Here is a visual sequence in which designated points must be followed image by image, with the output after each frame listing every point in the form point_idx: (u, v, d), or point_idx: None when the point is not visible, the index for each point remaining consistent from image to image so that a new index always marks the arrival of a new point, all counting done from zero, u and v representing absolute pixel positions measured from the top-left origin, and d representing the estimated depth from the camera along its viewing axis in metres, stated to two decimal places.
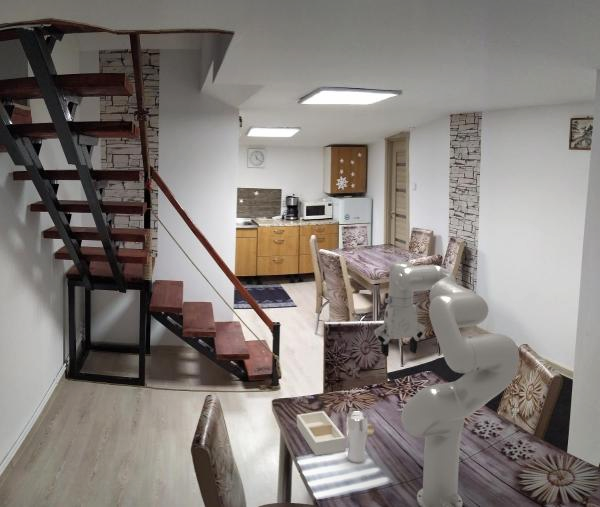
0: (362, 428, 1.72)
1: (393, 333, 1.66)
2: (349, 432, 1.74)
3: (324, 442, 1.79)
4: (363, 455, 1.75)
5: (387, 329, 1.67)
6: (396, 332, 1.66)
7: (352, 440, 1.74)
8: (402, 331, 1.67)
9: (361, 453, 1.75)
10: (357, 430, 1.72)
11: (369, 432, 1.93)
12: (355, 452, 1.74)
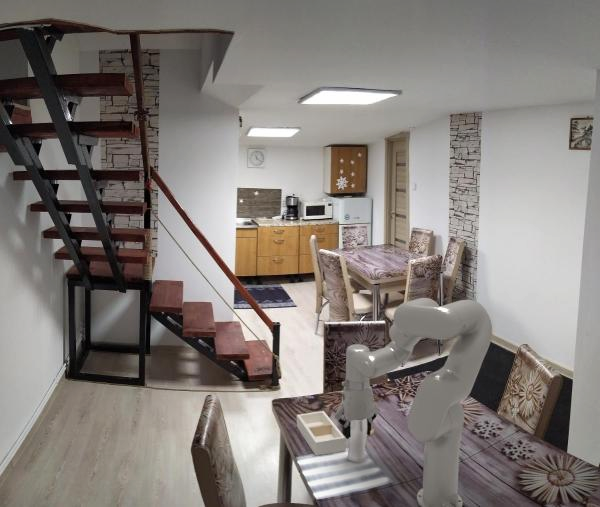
0: (362, 428, 1.72)
1: (350, 415, 1.71)
2: (349, 432, 1.74)
3: (324, 442, 1.79)
4: (363, 455, 1.75)
5: (344, 413, 1.72)
6: (353, 414, 1.71)
7: (352, 440, 1.74)
8: (359, 413, 1.72)
9: (361, 453, 1.75)
10: (357, 430, 1.72)
11: None
12: (355, 452, 1.74)
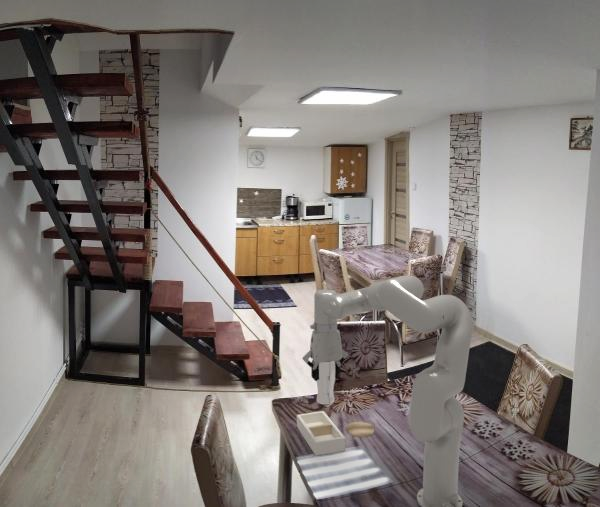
0: (330, 370, 1.78)
1: (318, 357, 1.77)
2: None
3: (324, 442, 1.79)
4: (331, 397, 1.81)
5: (313, 356, 1.77)
6: (321, 356, 1.77)
7: (320, 382, 1.79)
8: (327, 356, 1.77)
9: (329, 395, 1.80)
10: (325, 372, 1.78)
11: (369, 432, 1.93)
12: (323, 394, 1.80)
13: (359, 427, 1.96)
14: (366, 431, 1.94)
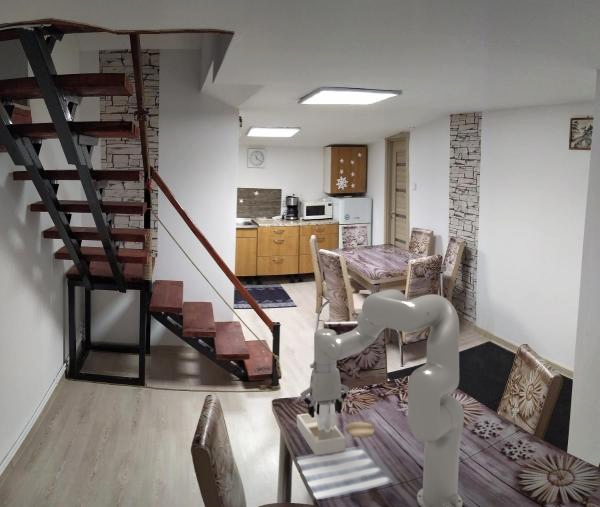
0: (330, 413, 1.80)
1: (317, 396, 1.79)
2: (318, 417, 1.82)
3: (324, 442, 1.79)
4: None
5: (312, 393, 1.79)
6: (320, 395, 1.79)
7: (321, 424, 1.81)
8: (326, 394, 1.80)
9: (330, 437, 1.83)
10: (325, 415, 1.80)
11: (369, 432, 1.93)
12: (324, 436, 1.82)
13: (359, 427, 1.96)
14: (366, 431, 1.94)
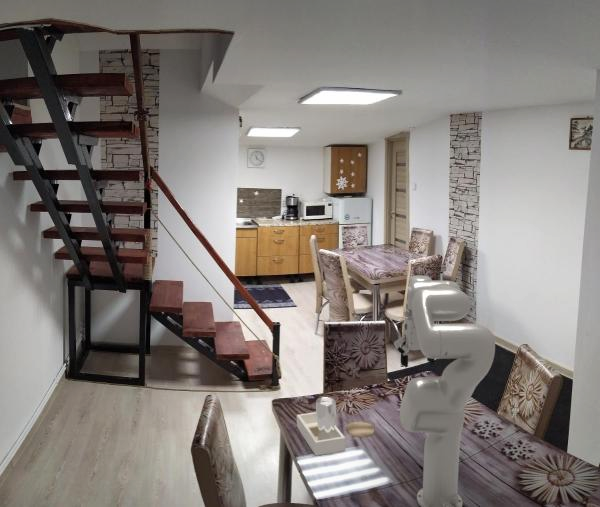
0: (330, 413, 1.80)
1: (412, 345, 1.73)
2: (318, 417, 1.81)
3: (324, 442, 1.79)
4: None
5: (407, 341, 1.74)
6: (415, 344, 1.73)
7: (321, 424, 1.81)
8: None
9: (330, 437, 1.83)
10: (326, 415, 1.80)
11: (369, 432, 1.93)
12: (324, 436, 1.82)
13: (359, 427, 1.96)
14: (366, 431, 1.94)
